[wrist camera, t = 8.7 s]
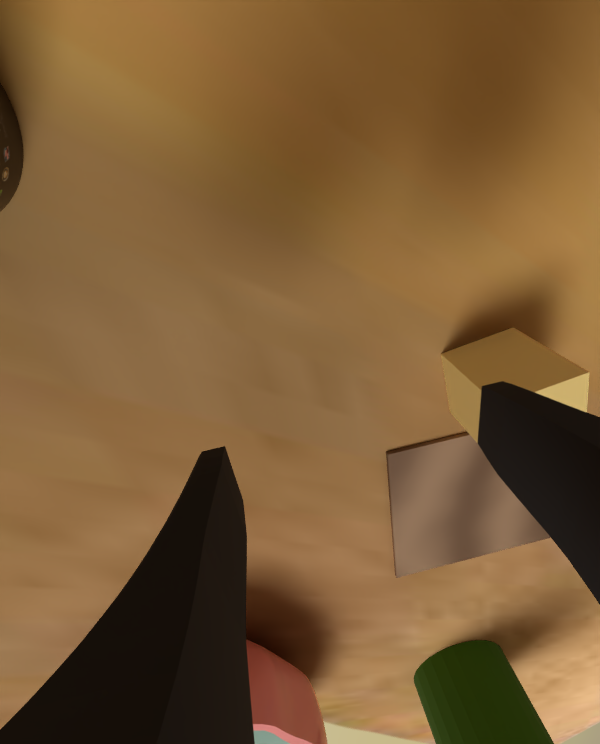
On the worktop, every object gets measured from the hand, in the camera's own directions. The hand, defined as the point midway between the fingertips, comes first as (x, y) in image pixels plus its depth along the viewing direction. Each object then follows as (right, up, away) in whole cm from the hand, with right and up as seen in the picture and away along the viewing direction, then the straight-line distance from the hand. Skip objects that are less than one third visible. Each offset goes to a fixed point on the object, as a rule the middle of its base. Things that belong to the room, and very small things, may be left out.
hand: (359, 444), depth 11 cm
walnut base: (+10, -6, +17) cm, 20 cm away
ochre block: (+8, +2, +12) cm, 14 cm away
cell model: (-9, -22, +22) cm, 32 cm away
